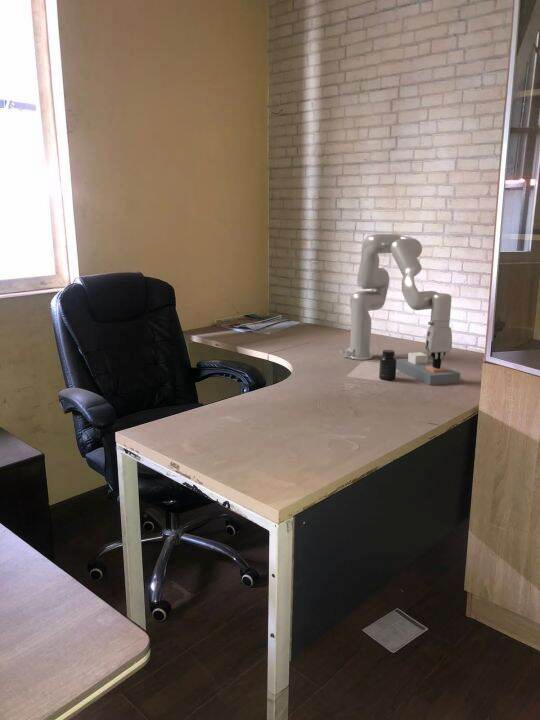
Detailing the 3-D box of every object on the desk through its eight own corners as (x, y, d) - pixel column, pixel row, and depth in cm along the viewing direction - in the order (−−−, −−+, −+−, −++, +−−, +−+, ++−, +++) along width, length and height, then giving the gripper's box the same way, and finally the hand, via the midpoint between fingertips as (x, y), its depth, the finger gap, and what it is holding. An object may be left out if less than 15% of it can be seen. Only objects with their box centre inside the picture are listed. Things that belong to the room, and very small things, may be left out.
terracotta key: (432, 381, 237) (433, 369, 236) (424, 377, 243) (425, 366, 242) (445, 380, 239) (446, 368, 238) (437, 376, 245) (438, 365, 244)
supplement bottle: (385, 375, 246) (386, 348, 243) (398, 379, 241) (400, 351, 238) (375, 378, 241) (377, 350, 238) (389, 382, 236) (391, 353, 233)
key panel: (429, 385, 233) (430, 375, 232) (394, 368, 258) (395, 359, 257) (459, 382, 237) (460, 373, 236) (422, 366, 263) (422, 357, 262)
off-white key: (414, 367, 250) (415, 356, 249) (407, 364, 255) (408, 352, 254) (427, 366, 252) (427, 355, 250) (419, 363, 257) (420, 352, 256)
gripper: (429, 326, 230) (425, 371, 234) (461, 324, 234) (457, 368, 238) (418, 323, 237) (415, 366, 241) (450, 321, 241) (446, 364, 245)
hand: (436, 367), depth 240 cm, fingers closed
